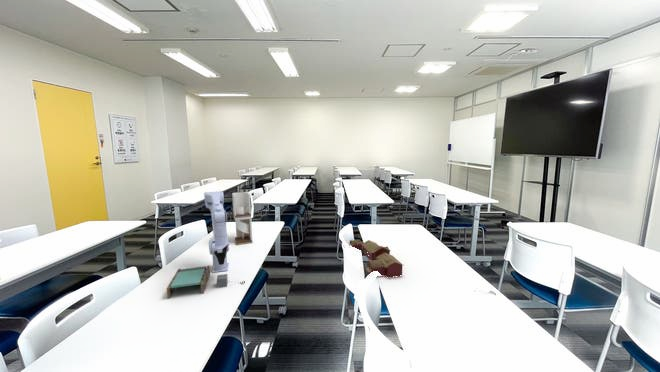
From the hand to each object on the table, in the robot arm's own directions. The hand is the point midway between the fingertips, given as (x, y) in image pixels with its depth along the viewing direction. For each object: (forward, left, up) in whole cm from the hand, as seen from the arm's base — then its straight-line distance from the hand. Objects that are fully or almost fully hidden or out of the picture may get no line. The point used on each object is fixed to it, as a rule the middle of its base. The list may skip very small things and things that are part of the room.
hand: (222, 261), depth 131 cm
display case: (-55, +8, -11) cm, 57 cm away
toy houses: (-1, +83, -11) cm, 84 cm away
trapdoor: (+1, -15, -8) cm, 17 cm away
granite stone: (+4, 0, -11) cm, 11 cm away
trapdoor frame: (0, -15, -10) cm, 18 cm away
